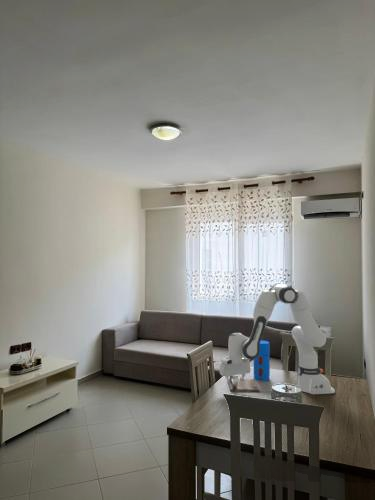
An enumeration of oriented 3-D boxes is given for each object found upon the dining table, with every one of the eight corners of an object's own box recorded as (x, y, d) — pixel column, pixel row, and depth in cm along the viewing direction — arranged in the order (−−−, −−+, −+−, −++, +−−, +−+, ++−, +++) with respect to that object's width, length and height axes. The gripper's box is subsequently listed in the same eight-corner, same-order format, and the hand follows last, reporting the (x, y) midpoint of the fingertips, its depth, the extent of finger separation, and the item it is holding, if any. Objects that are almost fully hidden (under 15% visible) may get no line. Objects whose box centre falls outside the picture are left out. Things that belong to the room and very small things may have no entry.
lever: (229, 378, 233) (229, 367, 234) (235, 378, 233) (235, 368, 234) (232, 388, 215) (232, 376, 215) (238, 388, 215) (238, 376, 215)
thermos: (252, 380, 236) (252, 343, 237) (254, 375, 247) (254, 339, 248) (269, 382, 233) (269, 344, 234) (270, 377, 243) (270, 341, 244)
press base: (254, 381, 233) (254, 378, 234) (259, 392, 214) (259, 388, 215) (227, 381, 234) (227, 378, 234) (230, 391, 215) (230, 388, 215)
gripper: (247, 356, 224) (247, 378, 223) (218, 359, 216) (218, 381, 216) (252, 358, 218) (252, 381, 217) (223, 362, 210) (223, 385, 210)
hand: (235, 381), depth 217 cm, fingers open, 8 cm apart
